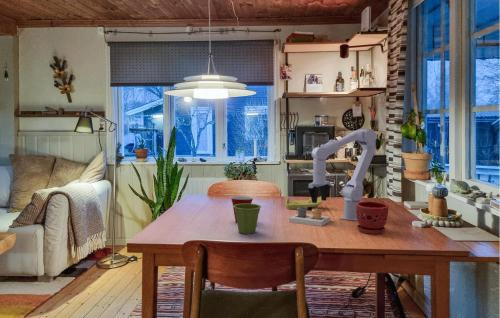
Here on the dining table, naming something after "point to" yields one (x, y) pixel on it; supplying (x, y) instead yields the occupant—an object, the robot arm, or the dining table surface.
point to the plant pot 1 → (247, 217)
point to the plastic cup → (240, 202)
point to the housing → (310, 220)
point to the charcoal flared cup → (302, 212)
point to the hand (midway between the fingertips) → (319, 201)
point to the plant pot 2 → (371, 217)
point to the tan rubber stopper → (317, 213)
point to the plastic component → (302, 203)
